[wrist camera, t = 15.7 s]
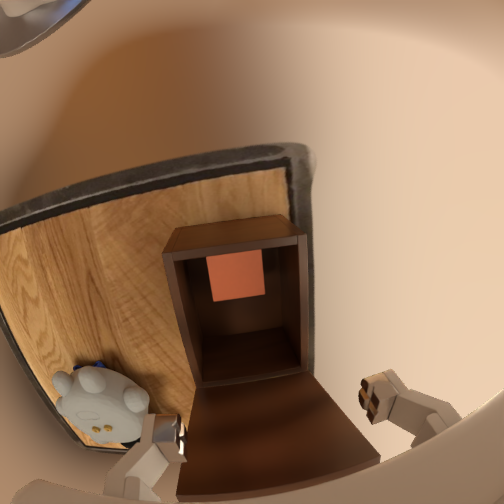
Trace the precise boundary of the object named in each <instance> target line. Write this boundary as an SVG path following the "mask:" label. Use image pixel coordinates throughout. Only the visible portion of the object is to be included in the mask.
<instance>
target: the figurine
mask: <svg viewBox="0 0 504 504" xmlns="http://www.w3.org/2000/svg"><path fill="white" fill-rule="evenodd" d="M73 370H74V372H72V373H71V375H69V374H68V373H66V372H64V371H57V372H56V373H55V374H54V375H53V377H52V383H53V386H54V387H55V389H56V390H57V391H58V392H59V394H60V395H62V397H59V398H58V399H57V401H56V409H57V411H58V412H59V413H60V414H61V415H63V416H64V417H67V418H68V420H69V421H70V422H71V423H72V424H73V425H74V426H76V427H77V428H78V429H79V430H81V431H82V432H84V433H86V434H87V435H89V436H90V437H91V439H93V440H94V441H95V442H97V443H100V444H107V443H109V442H113V443H121V444H122V445H123V446H124V447H126V448H130V449H131V448H132V447H133V446H134V445H135V444H136V443H140V438H141V432H142V426H143V420H144V416H145V415H146V414H148V404H149V396H148V393H147V392H146V391H145V390H144V389H143V388H141V387H139V386H138V385H137V384H136V383H135V382H133V381H132V380H130V379H129V378H128V377H126V376H124V375H122V374H120V373H118V372H115V371H113V370H110V369H107V368H106V367H105V366H104V364H103V363H101V362H100V361H97V362H96V363H95V364H94V365H93V366H84V367H81V366H79V365H76V366H74V367H73ZM151 414H155V413H151Z"/></svg>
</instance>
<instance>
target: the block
mask: <svg viewBox="0 0 504 504" xmlns="http://www.w3.org/2000/svg"><path fill="white" fill-rule="evenodd" d="M206 260H207V266H208V272H209V278H210V284H211V290H212V296H213V301H214V302H215V301H222V300H229V299H236V298H243V297H250V296H257V295H263V294H265V285H264V274H263V263H262V252H261V249H260V250H253V251H245V252H238V253H231V254H223V255H216V256H209V257H206Z"/></svg>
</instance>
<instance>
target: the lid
mask: <svg viewBox="0 0 504 504" xmlns="http://www.w3.org/2000/svg"><path fill="white" fill-rule="evenodd" d="M187 437H188V443H187V444H186V445H185V447H186V449H187V450H188V453H187V462H181V468H180V474H179V479H178V485H177V491H176V497H177V499H178V501H179V502H216V501H230V500H240V499H248V498H256V497H262V496H268V495H274V494H280V493H285V492H289V491H294V490H299V489H303V488H307V487H311V486H315V485H318V484H322V483H325V482H329V481H332V480H335V479H339V478H342V477H345V476H348V475H351V474H353V473H356V472H359V471H362V470H364V469H367V468H369V467H372V466H374V465H377V464H379V463H380V458H381V455H380V454H379V453H378V452H377V451H376V449H375V448H374V447H373V446H372V445H371V444H370V443H369V442H368V440H367V439H366V438H365V437H364V436H363V435H362V433H361V432H360V431H359V430H358V429H357V428H356V426H355V425H354V424H353V423H352V422H351V421H350V419H349V418H348V417H347V416H346V415H345V413H344V412H343V411H342V410H341V409H340V407H339V406H338V405H337V404H336V403H335V402H334V400H333V399H332V398H331V397H330V396H329V394H328V393H327V392H326V391H325V390H324V388H323V387H322V386H321V385H320V383H319V382H318V381H317V380H316V379H315V377H314V376H313V375H312V374H311V372H310V371H309V370H308V371H303V372H299V373H294V374H289V375H284V376H279V377H274V378H268V379H262V380H257V381H250V382H244V383H237V384H230V385H222V386H213V387H204V388H196V391H195V396H194V401H193V406H192V410H191V415H190V420H189V426H188V431H187Z"/></svg>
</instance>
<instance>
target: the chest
mask: <svg viewBox="0 0 504 504" xmlns="http://www.w3.org/2000/svg"><path fill="white" fill-rule="evenodd" d="M260 249H261V252H262V263H263V274H264V285H265V294H263V295H257V296H250V297H243V298H236V299H229V300H222V301H215V302H214V301H213V296H212V290H211V284H210V278H209V272H208V266H207V260H206V257H209V256H216V255H223V254H231V253H238V252H245V251H253V250H260ZM162 257H163V262H164V267H165V272H166V276H167V281H168V285H169V290H170V294H171V298H172V302H173V306H174V310H175V314H176V318H177V322H178V326H179V330H180V334H181V337H182V341H183V344H184V348H185V351H186V355H187V358H188V362H189V365H190V368H191V372H192V375H193V378H194V381H195V384H196V388H204V387H213V386H221V385H229V384H237V383H243V382H250V381H256V380H262V379H268V378H273V377H279V376H284V375H289V374H294V373H298V372H303V371H307V370H308V258H307V234H306V233H304V232H303V231H302V230H301V229H299V228H298V227H297V226H295V225H294V224H293V223H292V222H290V221H289V220H288V219H286V218H285V217H284V216H282V215H281V214H280V215H271V216H263V217H255V218H247V219H239V220H231V221H223V222H216V223H208V224H201V225H194V226H187V227H180V228H175V230H174V231H173V233H172V235H171V237H170V239H169V241H168V243H167V245H166V247H165V248H164V250H163V252H162Z"/></svg>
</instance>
